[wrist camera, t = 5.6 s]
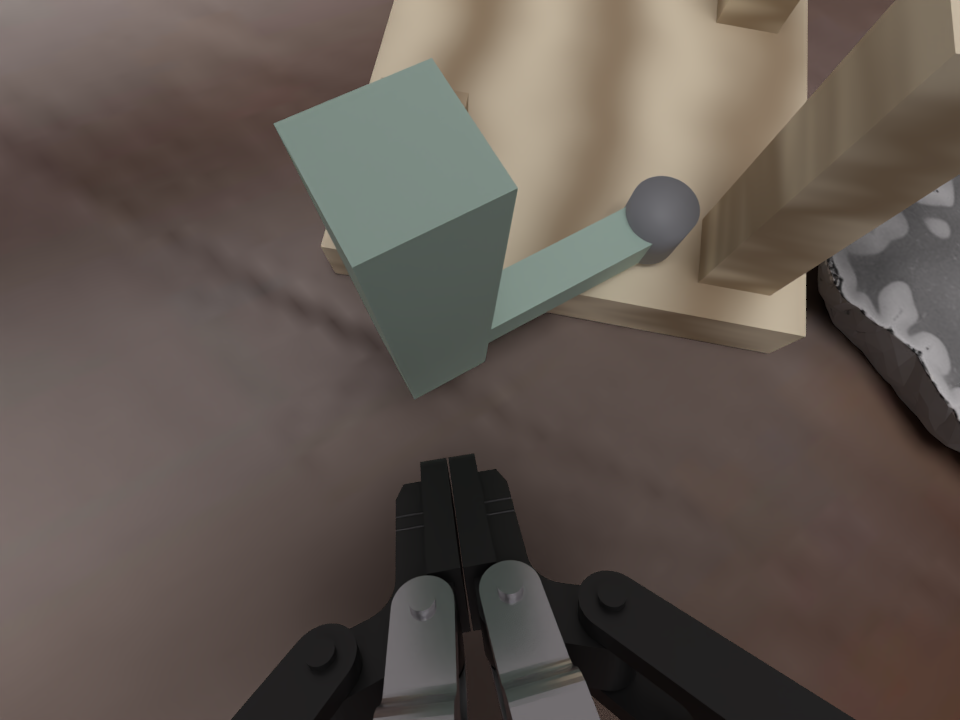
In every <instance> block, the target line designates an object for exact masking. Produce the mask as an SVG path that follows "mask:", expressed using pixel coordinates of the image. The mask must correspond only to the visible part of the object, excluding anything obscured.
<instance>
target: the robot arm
mask: <svg viewBox="0 0 960 720" xmlns="http://www.w3.org/2000/svg"><path fill="white" fill-rule="evenodd" d="M449 466H450V473H451V480H452V488H453V495H454V503H455V510H456V517H455V510H454V503H453V497H452V490H451V484H450V478H449V472H448V466H447V460H446V458H443V459H437V460H430V461H424V462H420V467H421V482H415V483H409V484H404V485H403V487H402V489H401V491H400V493H399V495H398V497H397V499H396V582H395V589H394V592H393V594H392V597H391V598H390V600H389V602H388V603H387V604H386V606H385V607H384V608H383V609H382V610H381V611H380V612H379V613H377V614H376V615H375V616H373V617H372V618H370V619H368V620H366V621H364V622H362V623H360V624H358V625H357V626H355V627H353V628H351V629H348V628H347V627H345V626H343V625H340V624H325V625H322V626H319V627H316V628H314V629H312V630H311V631H309V632H308V633H307V634H305V635H304V636H303V637H302V638H301V639H300V640H299V641H298V642H297V643H296V645H295V646H294V647H293V648H292V649H291V650H290V652H289V653H288V654H287V655H286V656H285V657H284V659H283V660H282V661H281V662H280V663H279V664H278V666H277V667H276V668H275V669H274V670H273V671H272V673H271V674H270V675H269V676H268V677H267V678H266V680H265V681H264V682H263V683H262V684H261V685H260V687H259V688H258V689H257V690H256V691H255V692H254V694H253V695H252V696H251V697H250V698H249V699H248V701H247V702H246V703H245V704H244V705H243V706H242V708H241V709H240V710H239V711H238V712H237V713H236V715H235V716H234V717H233V718H232V719H231V720H469V701H468V678H467V665H466V659H465V654H464V645H463V637H462V633H464V632H469V631H471V630H470V623H469V615H468V608H467V600H466V593H465V585H464V577H463V570H462V562H463V569H464V575H465V582H466V588H467V594H468V600H469V607H470V613H471V619H472V625H473V631H475V630H480V629H481V630H482V637H483V643H484V650H485V654H486V657H487V659H488V661H489V664H490V669H491V673H492V677H493V681H494V686H495V690H496V694H497V699H498V703H499V707H500V712H501V716H502V720H600V718H599V715H598V712H597V710H596V707H595V705H594V702H593V699H592V697H591V695H592V696H593V697H594V698H595V699H596V700H598V701H599V702H600V703H601V704H602V705H604V706H605V707H606V708H607V709H608V710H610V711H611V712H612V713H613V714H614V715H616V716H617V717H618V718H619V719H620V720H855V719H854V718H852V717H850V716H849V715H847V714H846V713H844V712H842V711H841V710H839V709H838V708H836V707H834V706H833V705H831V704H830V703H828V702H826V701H825V700H823V699H822V698H820V697H818V696H817V695H815V694H814V693H812V692H811V691H809V690H807V689H806V688H804V687H803V686H801V685H799V684H798V683H796V682H795V681H793V680H791V679H790V678H788V677H787V676H785V675H783V674H782V673H780V672H779V671H777V670H775V669H774V668H772V667H771V666H769V665H767V664H766V663H764V662H763V661H761V660H759V659H758V658H756V657H755V656H753V655H752V654H750V653H748V652H747V651H745V650H744V649H742V648H740V647H739V646H737V645H736V644H734V643H732V642H731V641H729V640H728V639H726V638H724V637H723V636H721V635H720V634H718V633H716V632H715V631H713V630H712V629H710V628H708V627H707V626H705V625H704V624H702V623H700V622H699V621H697V620H696V619H694V618H693V617H691V616H689V615H688V614H686V613H685V612H683V611H681V610H680V609H678V608H677V607H675V606H673V605H672V604H670V603H669V602H667V601H665V600H664V599H662V598H661V597H659V596H657V595H656V594H654V593H653V592H651V591H649V590H648V589H646V588H645V587H643V586H641V585H640V584H638V583H637V582H635V581H634V580H632V579H630V578H629V577H627V576H625V575H623V574H621V573H618V572H614V571H600V572H596V573H593V574H591V575H590V576H588V577H587V578H586V579H585V580H584V581H583V582H582V584H581V586H580V585H573V584H565V583H558V582H554V581H551V580H548V579H546V578H544V577H543V576H541V575H540V574H539V573H538V572H536V571H535V570H534V568H533V567H532V566H531V564H530V562H529V560H528V557H527V554H526V550H525V546H524V543H523V539H522V535H521V532H520V528H519V524H518V521H517V517H516V513H515V510H514V506H513V502H512V499H511V495H510V491H509V487H508V484H507V481H506V480H505V479H504V478H503V476H502V475H501V474H500V473H499V472H498V471H497V470H496V469H493V470H487V471H481V472H478V470H477V465H476V460H475V456H474V454H468V455H462V456H455V457H449ZM456 518H457V524H456ZM457 525H458V532H459V540H460V547H461V555H462V562H461V555H460V547H459V540H458V532H457Z"/></svg>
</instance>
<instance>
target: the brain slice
mask: <svg viewBox="0 0 960 720" xmlns="http://www.w3.org/2000/svg"><path fill="white" fill-rule="evenodd" d="M818 289H819V293H820V295H821V296H822V298H823V299H824V300H825V305H826V308H827V310H828V313H829V315H830V317H831V320H832V322H833V324H834V325H835V326H836V327H837V328H838V329H839V330H840V331H841V332H842V333H843V334H844V335H845V336H846V337H847V338H848V339H849V340H850V341H851V342H852V343H853V344H854V345H855V346H857V347H858V348H859V349H861V351H862V352H863V354H864V355H865V356H866V357H867V359H868V360H869V361H870V362H871V364H872V365H873V366H874V368H875V369H876V370H877V372H878V373H879V374H880V375H881V376H882V377H883V379H884V380H886V381H887V382H888V383H889V384H891V386H892V387H893V389H894V390H895V392H896V394H897V395H898V397H899V398H900V399H901V400H902V401H903V402H904V403H905V405H906V406H907V407H908V408H909V409H910V410H911V411H912V412H913V413H914V414H915V415H916V416H917V417H918V418H919V420H920V421H921V422H922V424H923V425H924V426H925V428H926V429H927V430H928V431H929V433H931V434H932V435H933V436H934V437H936V438H937V439H938V440H939V441H941V442H942V443H943V444H944V445H946V446H947V447H949V448H952V449H954V450H956V451H958V452H960V174H959V175H958V176H956V177H955V178H953V179H951V180H950V181H948V182H947V183H945V184H944V185H942V186H940V187H939V188H937V189H936V190H934V191H933V192H931V193H930V194H928V195H926V196H925V197H923V198H922V199H920V200H919V201H917V202H916V203H914V204H912V205H911V206H909V207H908V208H906V209H905V210H903V211H902V212H900V213H898V214H897V215H895V216H894V217H892V218H891V219H889V220H887V221H886V222H884V223H883V224H881V225H880V226H878V227H877V228H875V229H873V230H872V231H870V232H869V233H867V234H866V235H864V236H863V237H861V238H859V239H858V240H856V241H855V242H853V243H852V244H850V245H849V246H847V247H845V248H844V249H842V250H841V251H839V252H838V253H836V254H834V255H833V256H831V257H830V258H828V259H827V260H825V261H824V262H822V263H820V264H819V266H818Z"/></svg>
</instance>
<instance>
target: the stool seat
mask: <svg viewBox="0 0 960 720" xmlns="http://www.w3.org/2000/svg"><path fill="white" fill-rule="evenodd" d="M807 19H808V0H394V3H393V7H392V10H391V13H390V17H389V20H388V23H387V27H386V30H385V33H384V37H383V40H382V43H381V47H380V50H379V53H378V57H377V60H376V63H375V67H374V70H373V73H372V77H371V80H370V83H373V82H375V81H377V80H380V79H382V78H385V77H387V76H389V75H392V74H394V73H397V72H399V71H401V70H404V69H406V68H409V67H411V66H413V65H416V64H418V63H421V62H423V61H425V60H428V59H430V58H432V59H433V60H434V62H435V63H436V65H437V66H438V68H439V69H440V71H441V72H442V74H443V75H444V77H445V79H446V80H447V82H448V83H449V85H450V86H451V88H452V89H453V91H454V92H455V94H456V95H457V97H458V98H459V100H460V101H461V103H462V104H463V106H464V107H465V109H466V110H467V112H468V113H469V115H470V116H471V118H472V119H473V121H474V122H475V124H476V125H477V127H478V128H479V130H480V131H481V133H482V134H483V136H484V137H485V139H486V141H487V142H488V144H489V145H490V147H491V148H492V150H493V151H494V153H495V154H496V156H497V157H498V159H499V160H500V162H501V163H502V165H503V166H504V168H505V169H506V171H507V172H508V174H509V175H510V177H511V178H512V180H513V181H514V183H515V184H516V186H517V187H518V191H517V196H516V201H515V206H514V212H513V217H512V222H511V227H510V233H509V238H508V243H507V249H506V254H505V259H504V264H503V269H505V268H507V267H509V266H511V265H513V264H515V263H517V262H519V261H521V260H523V259H525V258H527V257H529V256H531V255H533V254H535V253H537V252H539V251H540V250H542V249H544V248H546V247H548V246H550V245H552V244H554V243H556V242H558V241H560V240H562V239H564V238H566V237H568V236H570V235H572V234H574V233H576V232H578V231H580V230H582V229H584V228H586V227H588V226H590V225H592V224H594V223H596V222H597V221H599V220H601V219H603V218H605V217H607V216H609V215H611V214H613V213H615V212H617V211H619V210H621V209H623V208H624V207H625V206H626V204H627V202H628V200H629V199H630V197H631V195H632V193H633V192H634V190H635V188H636V187H637V186H638V185H639V184H640V183H641V182H642V181H644V180H646V179H648V178H651V177H655V176H668V177H672V178H675V179H678V180H680V181H682V182H683V183H685V184H686V185H687V186H689V187H690V188H691V189H692V191H693V192H694V193H695V195H696V197H697V199H698V201H699V205H700V216H699V219H698V222H697V224H696V225H695V227H694V228H693V229H692V230H691V231H690V232H689V233H688V235H687V236H686V237H685V238H684V239H683V240H682V241H681V243H680V244H679V245H678V246H677V247H676V248H675V249H674V251H673V252H672V253H671V254H670V255H669V256H668V257H667V258H666V259H665V260H663V261H661V262H659V263H656V264H648V265H647V264H639V263H637V264H636V265H634V266H632V267H630V268H628V269H626V270H624V271H622V272H621V273H619V274H617V275H615V276H613V277H611V278H609V279H607V280H606V281H604V282H602V283H600V284H598V285H596V286H594V287H592V288H591V289H589V290H587V291H585V292H583V293H581V294H579V295H577V296H576V297H574V298H572V299H570V300H568V301H566V302H564V303H562V304H561V305H559V306H557V307H555V308H553V309H551V310H549V311H547V313H553V314H558V315H564V316H569V317H574V318H580V319H585V320H590V321H596V322H601V323H607V324H612V325H617V326H623V327H628V328H633V329H639V330H644V331H650V332H655V333H660V334H666V335H671V336H676V337H682V338H687V339H693V340H698V341H703V342H709V343H714V344H719V345H725V346H730V347H736V348H741V349H746V350H752V351H757V352H762V353H768V354H769V353H771V352H773V351H775V350H778V349H780V348H782V347H784V346H786V345H789V344H791V343H793V342H795V341H797V340H799V339H802V338H804V337H806V272H808V271H810V270H811V269H813V268H814V267H816V266H817V265H819V264H820V263H822V262H824V261H825V260H827V259H828V258H830V257H831V256H833V255H834V254H836V253H838V252H839V251H841V250H842V249H844V248H845V247H847V246H849V245H850V244H852V243H853V242H855V241H856V240H858V239H859V238H861V237H863V236H864V235H866V234H867V233H869V232H870V231H872V230H873V229H875V228H877V227H878V226H880V225H881V224H883V223H884V222H886V221H887V220H889V219H891V218H892V217H894V216H895V215H897V214H898V213H900V212H902V211H903V210H905V209H906V208H908V207H909V206H911V205H912V204H914V203H916V202H917V201H919V200H920V199H922V198H923V197H925V196H926V195H928V194H930V193H931V192H933V191H934V190H936V189H937V188H939V187H940V186H942V185H944V184H945V183H947V182H948V181H950V180H951V179H953V178H955V177H956V176H958V175H959V174H960V0H895V1H894V2H893V4H892V5H891V6H890V7H889V8H888V9H887V10H886V12H885V13H884V14H883V15H882V16H881V17H880V18H879V19H878V21H877V22H876V23H875V24H874V25H873V26H872V27H871V29H870V30H869V31H868V32H867V33H866V34H865V35H864V37H863V38H862V39H861V40H860V41H859V42H858V43H857V44H856V46H855V47H854V48H853V49H852V50H851V51H850V52H849V54H848V55H847V56H846V57H845V58H844V59H843V60H842V61H841V63H840V64H839V65H838V66H837V67H836V68H835V69H834V71H833V72H832V73H831V74H830V75H829V76H828V77H827V79H826V80H825V81H824V82H823V83H822V84H821V85H820V86H819V88H818V89H817V90H816V91H815V92H814V93H813V94H812V96H811V97H810V98H809V99H808V100H807ZM370 83H369V84H370ZM321 248H322V250H323V252H324V254H325V255H326V257H327V259H328V261H329V263H330V264H331V266H332V268H333V270H334V271H335V273H338V274H343V275H349V273H348V271H347V269H346V267H345V265H344V263H343V261H342V259H341V257H340V255H339V253H338V251H337V249H336V247H335V245H334V243H333V241H332V239H331V237H330V235H329V233H328V231H327V229H326V230H325V233H324V237H323V240H322V243H321ZM349 276H350V275H349Z"/></svg>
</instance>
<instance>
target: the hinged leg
mask: <svg viewBox="0 0 960 720" xmlns="http://www.w3.org/2000/svg"><path fill="white" fill-rule="evenodd" d="M274 126H275V128H276V130H277V132H278V134H279V136H280V138H281V140H282V142H283V144H284V146H285V148H286V150H287V152H288V154H289V156H290V158H291V160H292V162H293V164H294V166H295V168H296V170H297V172H298V174H299V176H300V178H301V180H302V182H303V184H304V186H305V188H306V190H307V192H308V194H309V196H310V198H311V200H312V202H313V204H314V206H315V208H316V210H317V212H318V213H319V215H320V217H321V219H322V221H323V223H324V225H325V227H326V229H327V231H328V233H329V235H330V237H331V239H332V241H333V243H334V245H335V247H336V249H337V251H338V253H339V255H340V257H341V259H342V261H343V263H344V265H345V267H346V269H347V271H348V273H349V275H350V277H351V279H352V281H353V283H354V285H355V287H356V289H357V291H358V293H359V295H360V297H361V299H362V301H363V303H364V305H365V307H366V309H367V311H368V313H369V315H370V317H371V319H372V321H373V323H374V325H375V327H376V329H377V331H378V333H379V335H380V337H381V339H382V341H383V342H384V344H385V346H386V348H387V350H388V352H389V353H390V355H391V357H392V359H393V361H394V363H395V365H396V366H397V368H398V370H399V372H400V374H401V376H402V377H403V379H404V381H405V383H406V385H407V387H408V389H409V390H410V392H411V394H412V396H413V398H414V400H415V399H417V398H419V397H420V396H422V395H424V394H426V393H428V392H430V391H431V390H433V389H435V388H437V387H439V386H441V385H443V384H444V383H446V382H448V381H450V380H452V379H454V378H456V377H457V376H459V375H461V374H463V373H465V372H467V371H469V370H470V369H472V368H474V367H476V366H478V365H480V364H481V363H483V362H485V359H486V354H487V348H488V343H489V342H491V341H493V340H495V339H497V338H499V337H501V336H503V335H504V334H506V333H508V332H510V331H512V330H514V329H516V328H518V327H519V326H521V325H523V324H525V323H527V322H529V321H531V320H533V319H534V318H536V317H538V316H540V315H542V314H544V313H546V312H547V311H549V310H551V309H553V308H555V307H557V306H559V305H561V304H562V303H564V302H566V301H568V300H570V299H572V298H574V297H576V296H577V295H579V294H581V293H583V292H585V291H587V290H589V289H591V288H592V287H594V286H596V285H598V284H600V283H602V282H604V281H606V280H607V279H609V278H611V277H613V276H615V275H617V274H619V273H621V272H622V271H624V270H626V269H628V268H630V267H632V266H634V265H636V264H637V263H639V264H647V265H648V264H656V263H659V262H661V261H663V260H665V259H666V258H667V257H668V256H669V255H670V254H671V253H672V252H673V251H674V249H675V248H676V247H677V246H678V245H679V244H680V243H681V241H682V240H683V239H684V238H685V237H686V236H687V235H688V233H689V232H690V231H691V230H692V229H693V228H694V227H695V225H696V224H697V222H698V219H699V216H700V205H699V201H698V199H697V197H696V195H695V193H694V192H693V191H692V189H691V188H690V187H689V186H687V185H686V184H685V183H683V182H682V181H680V180H678V179H675V178H672V177H668V176H655V177H651V178H648V179H646V180H644V181H642V182H641V183H640V184H639V185H638V186H637V187H636V188H635V190H634V192H633V193H632V195H631V197H630V199H629V200H628V202H627V204H626V206H625V207H624V208H623V209H621V210H619V211H617V212H615V213H613V214H611V215H609V216H607V217H605V218H603V219H601V220H599V221H597V222H596V223H594V224H592V225H590V226H588V227H586V228H584V229H582V230H580V231H578V232H576V233H574V234H572V235H570V236H568V237H566V238H564V239H562V240H560V241H558V242H556V243H554V244H552V245H550V246H548V247H546V248H544V249H542V250H540V251H539V252H537V253H535V254H533V255H531V256H529V257H527V258H525V259H523V260H521V261H519V262H517V263H515V264H513V265H511V266H509V267H507V268H505V269H503V264H504V259H505V254H506V249H507V243H508V238H509V233H510V227H511V222H512V217H513V212H514V206H515V201H516V196H517V191H518V187H517V186H516V184H515V183H514V181H513V180H512V178H511V177H510V175H509V174H508V172H507V171H506V169H505V168H504V166H503V165H502V163H501V162H500V160H499V159H498V157H497V156H496V154H495V153H494V151H493V150H492V148H491V147H490V145H489V144H488V142H487V141H486V139H485V137H484V136H483V134H482V133H481V131H480V130H479V128H478V127H477V125H476V124H475V122H474V121H473V119H472V118H471V116H470V115H469V113H468V112H467V110H466V109H465V107H464V106H463V104H462V103H461V101H460V100H459V98H458V97H457V95H456V94H455V92H454V91H453V89H452V88H451V86H450V85H449V83H448V82H447V80H446V79H445V77H444V75H443V74H442V72H441V71H440V69H439V68H438V66H437V65H436V63H435V62H434V60H433V59H432V58H430V59H428V60H425V61H423V62H421V63H418V64H416V65H413V66H411V67H409V68H406V69H404V70H401V71H399V72H397V73H394V74H392V75H389V76H387V77H385V78H382V79H380V80H377V81H375V82H373V83H370V84H368V85H365V86H363V87H360V88H358V89H356V90H353V91H351V92H348V93H346V94H344V95H341V96H339V97H336V98H334V99H332V100H329V101H327V102H324V103H322V104H320V105H317V106H315V107H312V108H310V109H308V110H305V111H303V112H300V113H298V114H296V115H293V116H291V117H288V118H286V119H284V120H281V121H279V122H276V123H274Z"/></svg>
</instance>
